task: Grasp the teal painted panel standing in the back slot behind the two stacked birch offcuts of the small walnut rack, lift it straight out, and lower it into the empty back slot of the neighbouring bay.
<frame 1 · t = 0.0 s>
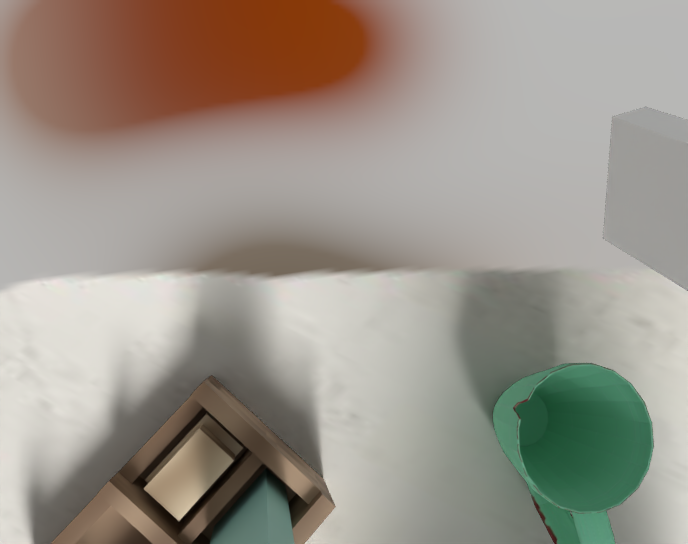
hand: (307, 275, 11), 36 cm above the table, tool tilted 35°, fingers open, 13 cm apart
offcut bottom: (198, 457, 43), point 1 cm above the table, touching offcut top, rack
rack: (185, 518, 43), on the table
offcut top: (192, 467, 41), point 3 cm above the table, touching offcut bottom
mug: (524, 445, 48), on the table
panel: (250, 505, 43), point 1 cm above the table, touching rack
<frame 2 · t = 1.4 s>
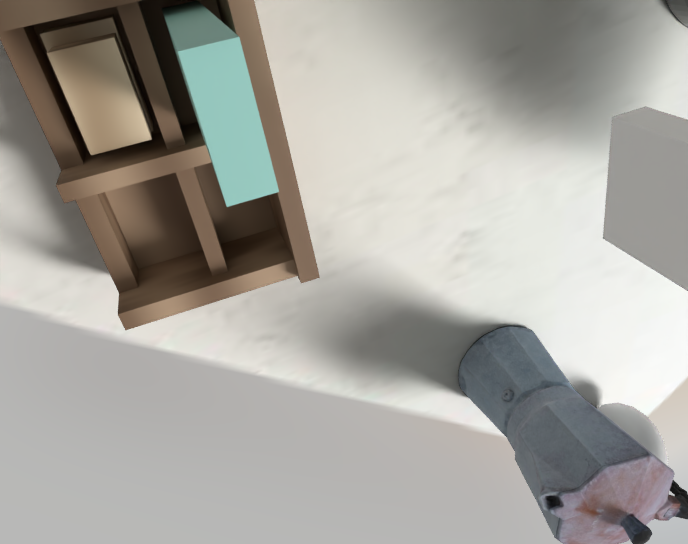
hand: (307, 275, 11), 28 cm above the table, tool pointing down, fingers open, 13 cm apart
donut: (588, 418, 64), on the table
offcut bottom: (102, 78, 32), point 1 cm above the table, touching offcut top, rack
rack: (169, 131, 36), on the table
moka pot: (501, 360, 55), on the table
offcut top: (104, 90, 31), point 3 cm above the table, touching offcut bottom
panel: (194, 55, 33), point 1 cm above the table, touching rack
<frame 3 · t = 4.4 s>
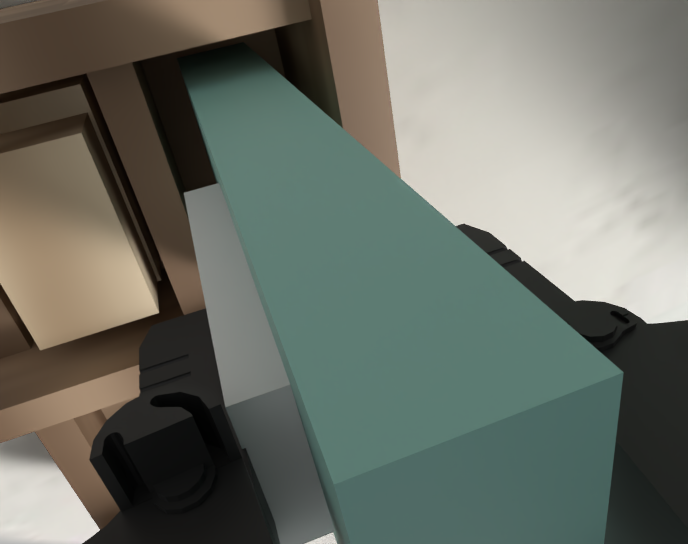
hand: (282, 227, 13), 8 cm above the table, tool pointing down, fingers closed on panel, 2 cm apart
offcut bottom: (66, 185, 17), point 1 cm above the table, touching offcut top, rack
rack: (187, 254, 21), on the table
offcut top: (67, 218, 16), point 3 cm above the table, touching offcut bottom
panel: (235, 139, 18), point 1 cm above the table, touching gripper, rack
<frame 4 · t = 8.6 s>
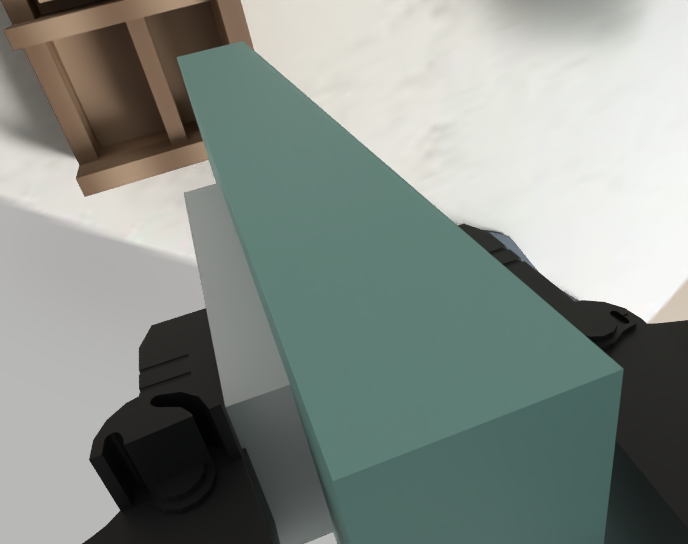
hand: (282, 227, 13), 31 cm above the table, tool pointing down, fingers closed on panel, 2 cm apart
rack: (126, 1, 36), on the table
moka pot: (479, 269, 55), on the table
panel: (235, 138, 18), point 24 cm above the table, touching gripper
when the fingers open (10 cm above the table, at t = 13.2 s): panel drops 1 cm, resting on rack.
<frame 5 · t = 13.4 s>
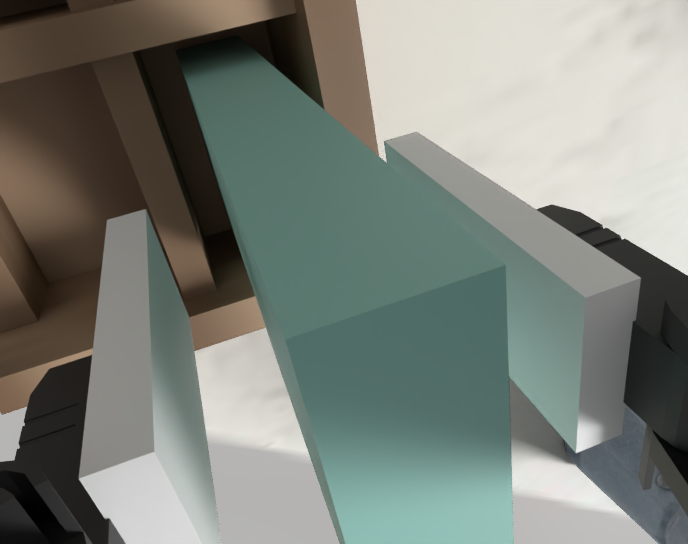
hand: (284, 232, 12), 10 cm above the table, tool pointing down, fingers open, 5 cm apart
rack: (100, 11, 18), on the table
moka pot: (624, 411, 38), on the table
panel: (230, 126, 20), point 1 cm above the table, touching rack
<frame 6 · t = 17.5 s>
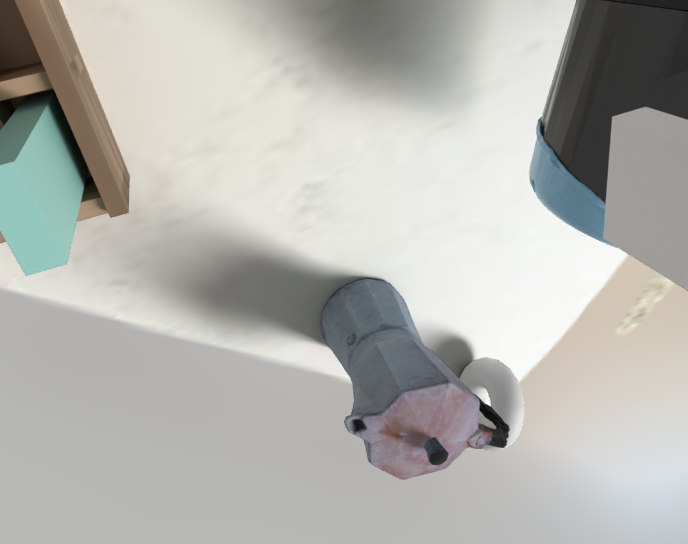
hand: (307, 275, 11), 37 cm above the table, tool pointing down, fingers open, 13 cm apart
donut: (465, 374, 67), on the table
moka pot: (365, 313, 58), on the table
panel: (58, 131, 40), point 1 cm above the table, touching rack
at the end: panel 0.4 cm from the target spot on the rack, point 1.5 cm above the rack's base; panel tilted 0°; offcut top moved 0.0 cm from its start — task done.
